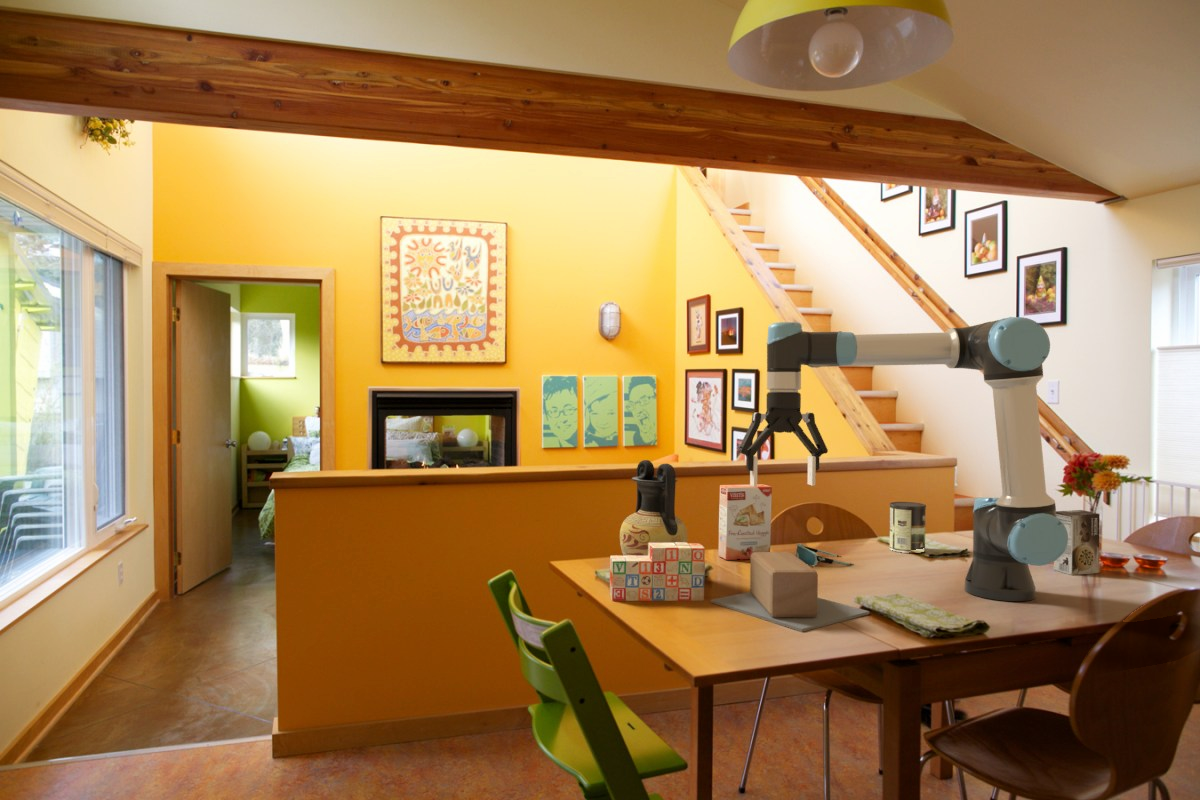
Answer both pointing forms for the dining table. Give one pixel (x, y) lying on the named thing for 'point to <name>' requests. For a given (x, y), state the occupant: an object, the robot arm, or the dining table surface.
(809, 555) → the sunglasses
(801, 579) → the wooden block
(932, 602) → the dining table surface
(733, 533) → the cracker box
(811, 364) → the robot arm
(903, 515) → the coffee can
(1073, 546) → the grey food carton
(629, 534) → the amphora
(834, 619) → the mat
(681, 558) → the stack of blocks
